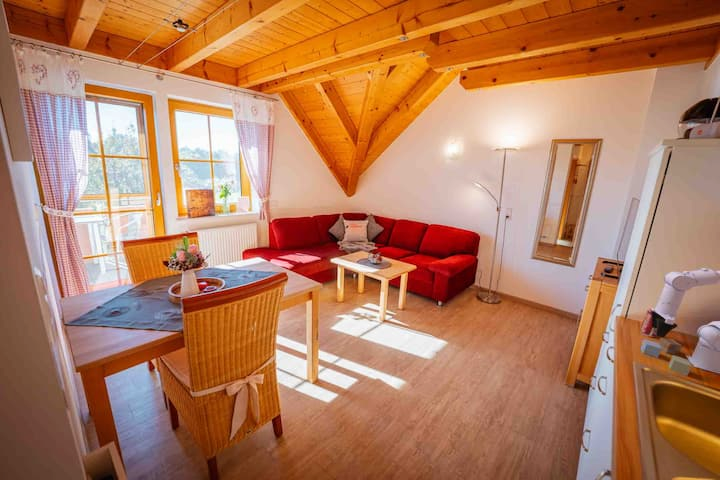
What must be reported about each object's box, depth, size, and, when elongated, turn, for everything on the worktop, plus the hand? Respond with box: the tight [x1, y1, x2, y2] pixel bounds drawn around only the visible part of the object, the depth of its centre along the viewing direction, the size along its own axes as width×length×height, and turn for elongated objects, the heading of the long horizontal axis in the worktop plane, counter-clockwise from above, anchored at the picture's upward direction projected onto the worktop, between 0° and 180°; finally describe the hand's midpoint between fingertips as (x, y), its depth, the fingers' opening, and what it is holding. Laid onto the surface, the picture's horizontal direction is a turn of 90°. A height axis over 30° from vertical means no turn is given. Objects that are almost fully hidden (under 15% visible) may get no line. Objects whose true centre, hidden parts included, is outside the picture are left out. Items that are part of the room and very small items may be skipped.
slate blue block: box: [640, 338, 662, 359], centre depth 119 cm, size 4×4×4 cm
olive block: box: [668, 354, 692, 377], centre depth 110 cm, size 4×4×4 cm
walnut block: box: [658, 337, 683, 356], centre depth 122 cm, size 4×4×4 cm
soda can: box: [639, 308, 657, 338], centre depth 132 cm, size 5×5×12 cm
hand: (657, 332), depth 117 cm, fingers open, 7 cm apart
